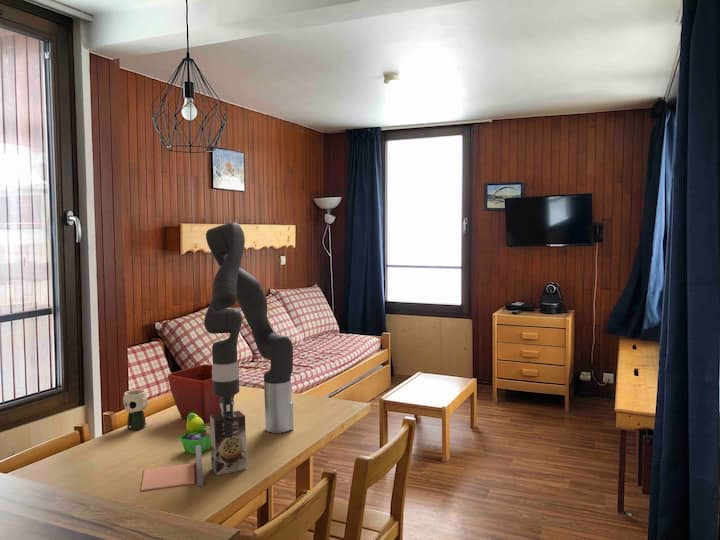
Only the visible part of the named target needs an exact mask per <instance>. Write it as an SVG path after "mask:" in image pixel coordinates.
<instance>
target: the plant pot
mask: <svg viewBox="0 0 720 540" xmlns="http://www.w3.org/2000/svg"><path fill="white" fill-rule="evenodd" d="M212 366H213V364H201V365H197V366H194V367H189V368H186V369H181V370H179V371H175V372H174V371H173V372H172V373H168V374H167V379H168V383H169V384H168V385H169V388H170V391H171V394H172V398H173V401H174V404H175V406H176V408H177V411H178V413H179V415H180V417H181V418H182V419H186V420H187V416H188V414H190V413H194V414H196V415H198V417H200V418H201V419H202V420H203V422H204V424H205V423H208V422H210V415H215V414H221V410H220V402H219V399H221V396H216V395H214V394H213V382H212ZM231 398H233V400H234V398H235V395H232V396H231Z"/></svg>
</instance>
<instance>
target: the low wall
mask: <svg viewBox="0 0 720 540" xmlns="http://www.w3.org/2000/svg"><path fill="white" fill-rule="evenodd" d="M202 457H203V455H202V452H201V445H196V455H195V458H196V459H195V462H196V480H197V481H196V484H197V487H202V486H204V477H203V476H204V472H203V458H202Z"/></svg>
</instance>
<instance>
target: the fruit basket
mask: <svg viewBox="0 0 720 540" xmlns="http://www.w3.org/2000/svg"><path fill="white" fill-rule="evenodd" d="M204 424H205V423H204V422H203V420H202V419H201V418H200V417H198V415H196V414H194V413H190V414H188V416H187V419H186V425H185V426H186V430H187V433H185V434H183V435H181V436H179V439H180V442H181V444H182V446H183V450H184V452H185V453H189V454H192V455H195V456H196V445H201V453H203V452H205V451H207V450H209V449H210V450H211V430H210V426H208V425H207V426H204Z"/></svg>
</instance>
